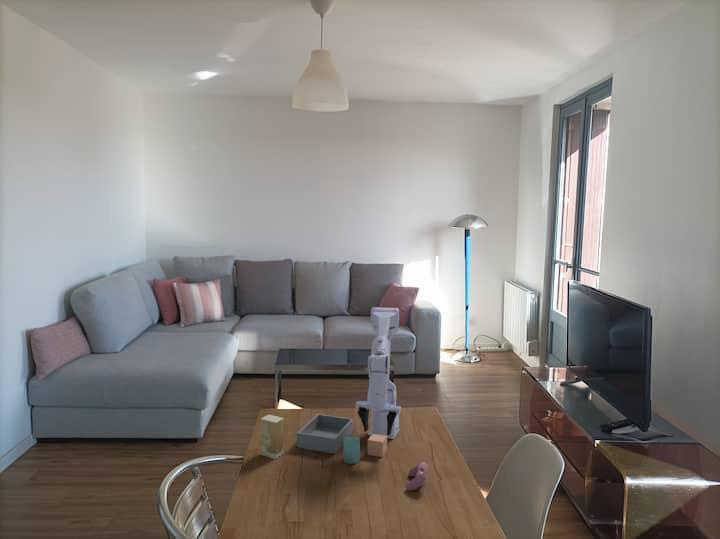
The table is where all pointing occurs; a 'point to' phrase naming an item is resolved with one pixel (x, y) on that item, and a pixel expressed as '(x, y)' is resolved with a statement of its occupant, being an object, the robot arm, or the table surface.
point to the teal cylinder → (351, 449)
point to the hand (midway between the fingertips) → (377, 432)
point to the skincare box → (272, 436)
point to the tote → (325, 433)
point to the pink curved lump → (417, 476)
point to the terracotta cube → (377, 445)
